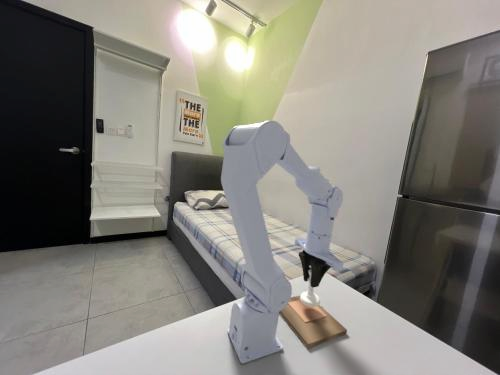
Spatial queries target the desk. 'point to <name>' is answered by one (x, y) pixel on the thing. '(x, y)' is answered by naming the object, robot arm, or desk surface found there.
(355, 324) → the desk surface
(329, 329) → the walnut board
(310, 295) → the chess piece
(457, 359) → the desk surface
